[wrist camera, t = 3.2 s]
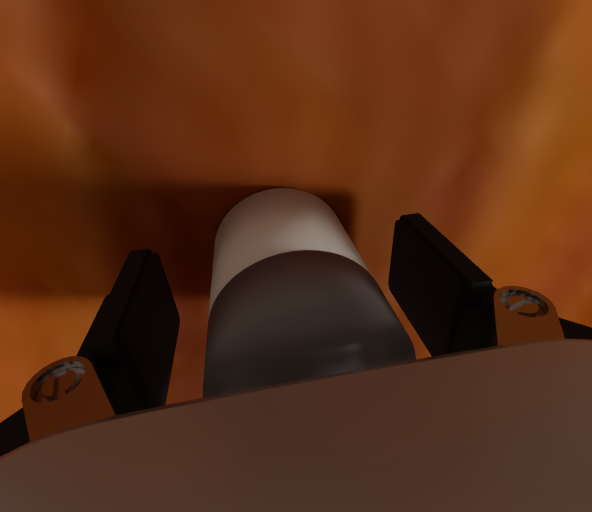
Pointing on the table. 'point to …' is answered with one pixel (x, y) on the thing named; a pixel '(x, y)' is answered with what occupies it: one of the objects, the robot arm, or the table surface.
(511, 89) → the table surface
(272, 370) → the gray and white capsule
